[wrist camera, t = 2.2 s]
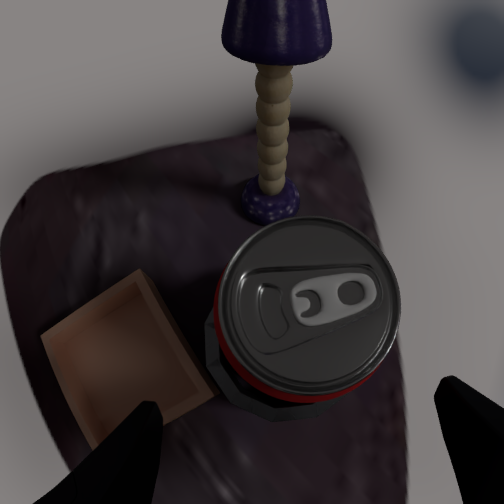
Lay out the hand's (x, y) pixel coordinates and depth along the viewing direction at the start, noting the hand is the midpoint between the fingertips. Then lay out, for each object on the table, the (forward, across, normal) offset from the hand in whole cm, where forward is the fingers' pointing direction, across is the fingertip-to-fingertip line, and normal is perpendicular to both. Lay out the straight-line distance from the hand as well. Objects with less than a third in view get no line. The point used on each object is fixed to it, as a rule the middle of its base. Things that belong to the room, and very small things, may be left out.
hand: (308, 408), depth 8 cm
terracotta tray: (+8, +10, +6) cm, 14 cm away
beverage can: (+9, 0, +5) cm, 11 cm away
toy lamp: (+17, 0, -2) cm, 17 cm away
